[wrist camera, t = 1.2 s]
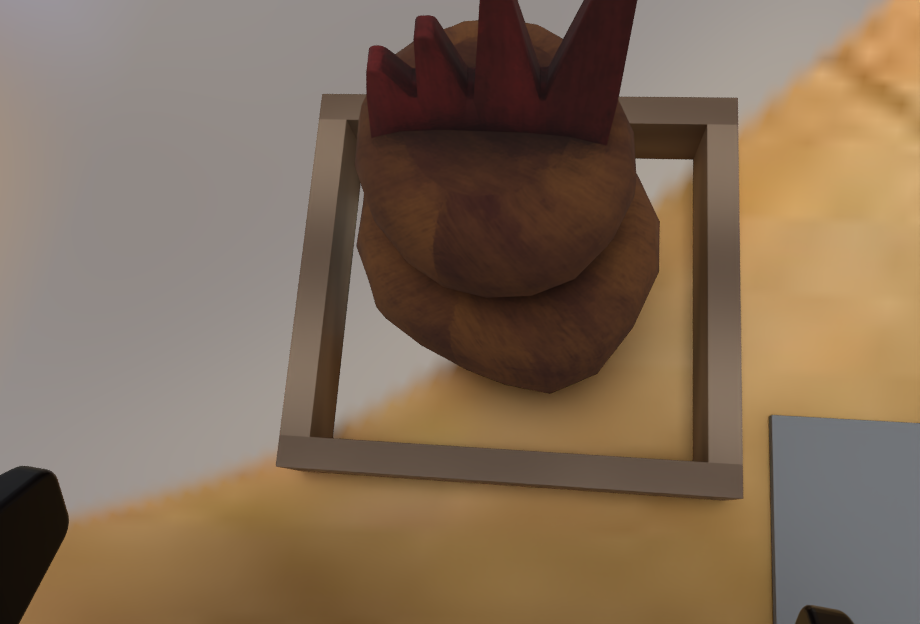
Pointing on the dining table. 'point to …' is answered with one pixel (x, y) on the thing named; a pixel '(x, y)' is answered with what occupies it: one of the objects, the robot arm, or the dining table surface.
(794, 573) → the charcoal mat
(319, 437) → the walnut holder frame
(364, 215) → the wooden figurine
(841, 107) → the dining table surface
